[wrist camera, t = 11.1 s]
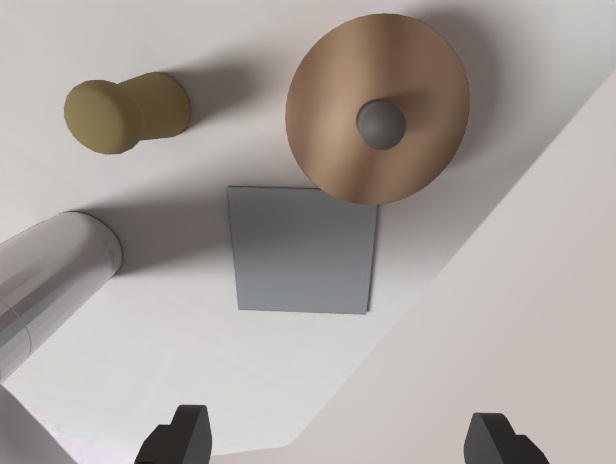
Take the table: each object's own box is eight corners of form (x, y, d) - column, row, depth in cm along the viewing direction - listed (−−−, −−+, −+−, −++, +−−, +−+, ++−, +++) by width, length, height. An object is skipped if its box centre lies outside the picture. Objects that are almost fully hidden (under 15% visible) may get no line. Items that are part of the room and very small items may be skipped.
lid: (288, 199, 31) (282, 221, 26) (284, 15, 25) (275, 3, 20) (447, 202, 30) (468, 225, 26) (482, 15, 24) (518, 2, 20)
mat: (239, 307, 44) (238, 309, 43) (228, 186, 37) (227, 187, 36) (365, 312, 43) (366, 314, 43) (378, 190, 36) (379, 191, 36)
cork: (203, 102, 33) (151, 117, 23) (171, 150, 35) (111, 181, 25) (148, 57, 32) (68, 52, 22) (118, 109, 34) (33, 126, 24)
